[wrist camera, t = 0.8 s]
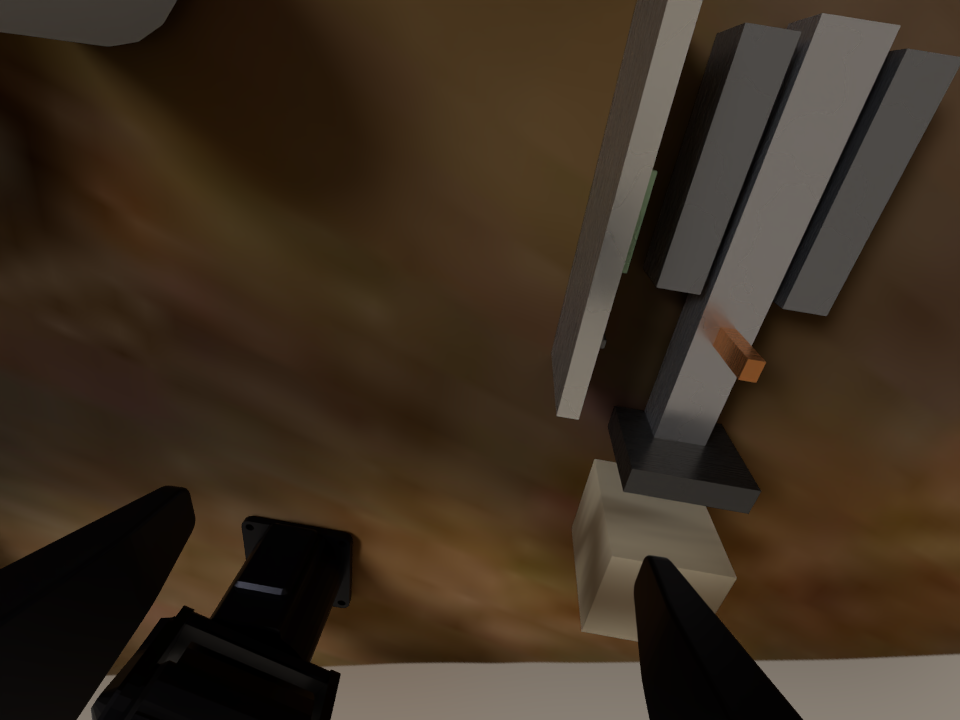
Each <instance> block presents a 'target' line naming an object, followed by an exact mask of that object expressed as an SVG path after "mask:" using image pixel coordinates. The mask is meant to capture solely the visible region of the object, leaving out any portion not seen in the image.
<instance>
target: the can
mask: <svg viewBox="0 0 960 720" xmlns="http://www.w3.org/2000/svg"><path fill="white" fill-rule="evenodd" d="M176 1H177V0H0V32H4V33H11V34H19V35H26V36H33V37H41V38H48V39H55V40H63V41H70V42H77V43H85V44H92V45H99V46H107V47H110V46H116V45H122V44H128V43H134V42H139V41H140V40H142V39H143V38H145V37H146V36H147V35H149V34H150V33H152V32H153V31H154V30H156V29H157V28H159V27H160V26H161V25H163V24H164V22H165V20H166V18H167V17H168V15H169V13H170V12H171V10H172V8H173V6H174V5H175V3H176Z"/></svg>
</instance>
